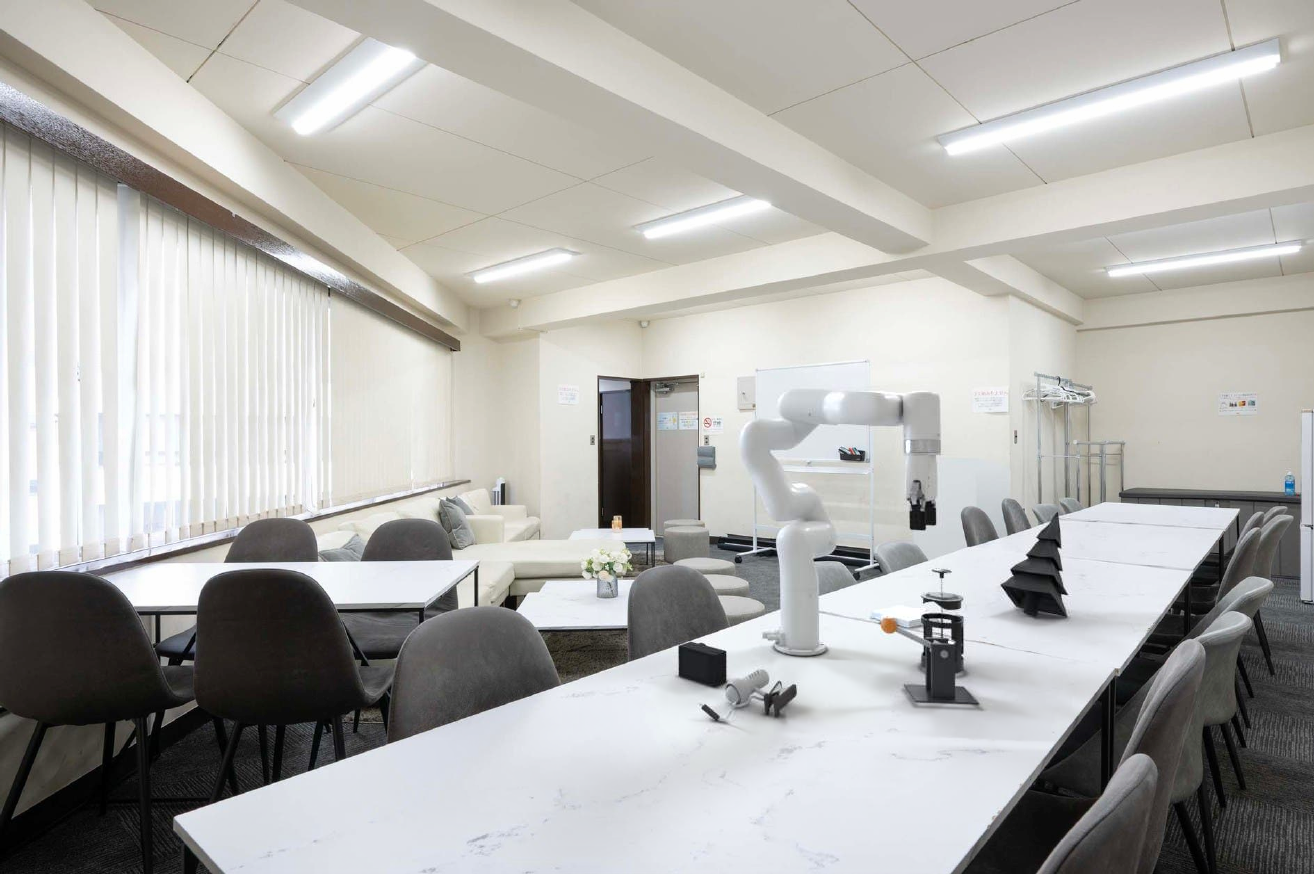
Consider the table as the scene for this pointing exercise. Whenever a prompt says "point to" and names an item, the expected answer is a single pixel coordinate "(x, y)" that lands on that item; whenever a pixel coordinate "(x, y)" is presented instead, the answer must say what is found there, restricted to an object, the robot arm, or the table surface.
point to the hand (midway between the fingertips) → (923, 527)
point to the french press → (957, 621)
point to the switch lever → (902, 632)
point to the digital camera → (702, 663)
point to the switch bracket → (940, 677)
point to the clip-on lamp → (752, 683)
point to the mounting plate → (902, 615)
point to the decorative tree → (1039, 576)
